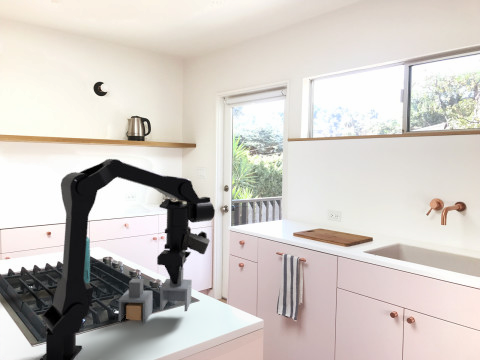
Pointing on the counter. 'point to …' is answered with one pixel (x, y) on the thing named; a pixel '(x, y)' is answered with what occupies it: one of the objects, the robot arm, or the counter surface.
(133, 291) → the cover
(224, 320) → the counter surface
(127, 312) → the brown cube
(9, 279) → the counter surface
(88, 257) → the beverage bottle
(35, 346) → the counter surface
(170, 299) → the cover
